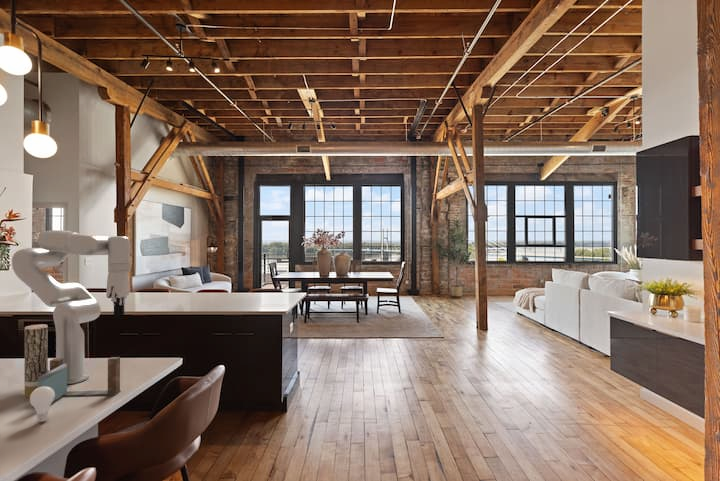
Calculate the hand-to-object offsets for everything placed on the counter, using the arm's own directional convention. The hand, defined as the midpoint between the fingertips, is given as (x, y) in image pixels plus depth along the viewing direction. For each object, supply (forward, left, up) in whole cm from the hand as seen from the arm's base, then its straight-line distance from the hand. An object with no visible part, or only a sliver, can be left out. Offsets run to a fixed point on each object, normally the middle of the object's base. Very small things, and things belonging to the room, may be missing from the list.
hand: (119, 315), depth 173 cm
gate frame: (-7, -10, -27) cm, 30 cm away
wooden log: (-25, -9, -27) cm, 38 cm away
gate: (-14, -17, -26) cm, 34 cm away
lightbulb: (-8, -35, -27) cm, 45 cm away
